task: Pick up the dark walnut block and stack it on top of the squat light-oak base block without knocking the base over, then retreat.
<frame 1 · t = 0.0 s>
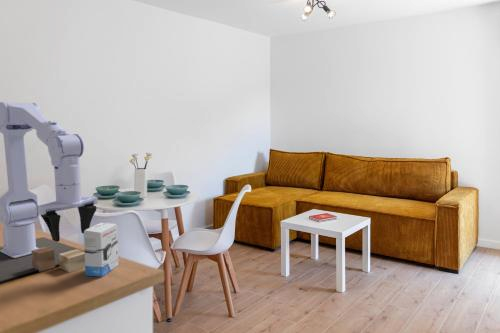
hand: (70, 236, 101), 10 cm above the kitchen counter, fingers open, 7 cm apart
ink box: (102, 271, 105), on the kitchen counter, touching gripper
base block: (73, 267, 107), on the kitchen counter
walnut block: (43, 267, 107), on the kitchen counter
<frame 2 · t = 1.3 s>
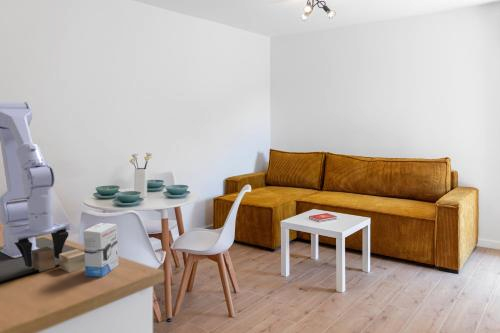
hand: (43, 261, 107), 2 cm above the kitchen counter, fingers open, 7 cm apart
ink box: (102, 271, 105), on the kitchen counter
everything else where it was.
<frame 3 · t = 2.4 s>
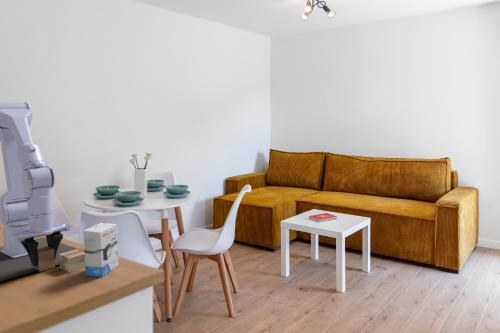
hand: (43, 262, 107), 1 cm above the kitchen counter, fingers closed on walnut block, 4 cm apart
walnut block: (43, 267, 107), on the kitchen counter, touching gripper
everything else where it was.
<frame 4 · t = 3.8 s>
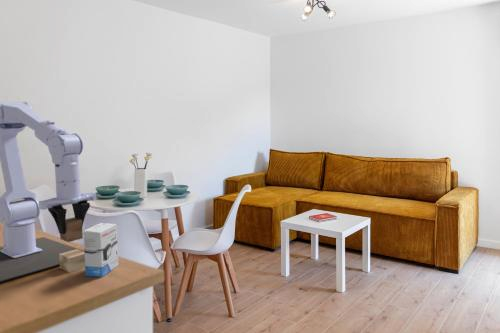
hand: (70, 231, 106), 10 cm above the kitchen counter, fingers closed on walnut block, 4 cm apart
walnut block: (71, 238, 106), point 8 cm above the kitchen counter, touching gripper
everything else where it was.
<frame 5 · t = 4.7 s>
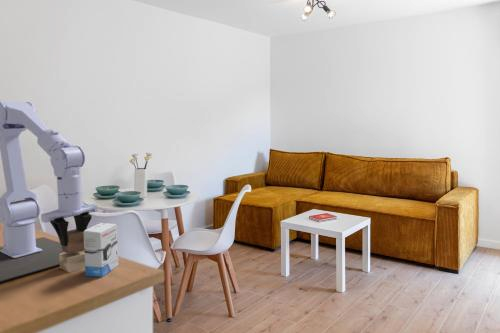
hand: (72, 243, 106), 7 cm above the kitchen counter, fingers closed on walnut block, 4 cm apart
walnut block: (73, 250, 107), point 5 cm above the kitchen counter, touching gripper
everything else where it was.
when the fingers open (7 cm above the kitchen counter, at t = 5.4 s): walnut block stays where it is, resting on base block.
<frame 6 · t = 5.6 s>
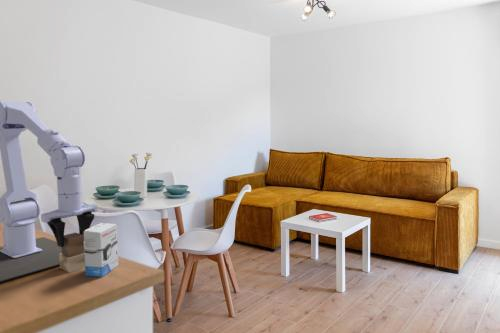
hand: (72, 243, 106), 7 cm above the kitchen counter, fingers open, 6 cm apart
base block: (73, 267, 107), on the kitchen counter, touching walnut block
walnut block: (73, 253, 107), point 4 cm above the kitchen counter, touching base block
everything else where it was.
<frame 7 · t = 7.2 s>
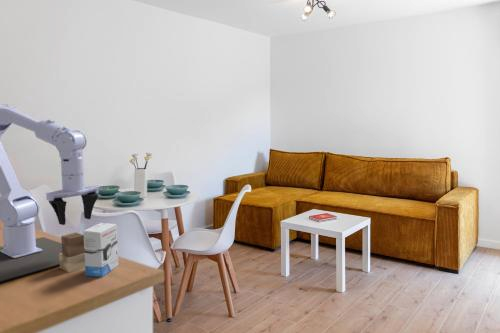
hand: (75, 221, 114), 10 cm above the kitchen counter, fingers open, 7 cm apart
nothing on the kitchen counter moved.
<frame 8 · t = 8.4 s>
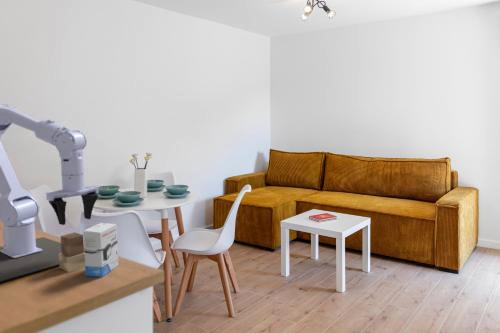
hand: (75, 221, 114), 10 cm above the kitchen counter, fingers open, 7 cm apart
base block: (73, 267, 108), on the kitchen counter
walnut block: (72, 253, 107), point 4 cm above the kitchen counter
everything else where it was.
at the end: walnut block 0.2 cm off-centre on the base block, point 4.0 cm above the base block's base; walnut block tilted 0°; base block tilted 0° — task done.
